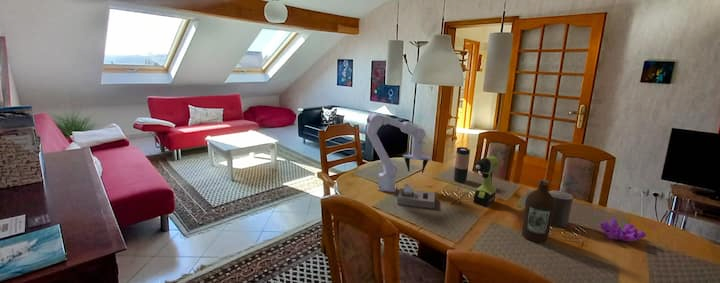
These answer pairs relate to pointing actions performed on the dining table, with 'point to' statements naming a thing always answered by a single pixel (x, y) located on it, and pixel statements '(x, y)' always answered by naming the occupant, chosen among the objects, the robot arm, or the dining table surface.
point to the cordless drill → (486, 181)
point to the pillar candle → (561, 208)
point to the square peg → (408, 190)
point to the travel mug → (461, 164)
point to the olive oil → (538, 214)
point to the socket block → (417, 198)
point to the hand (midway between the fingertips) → (415, 171)
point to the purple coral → (621, 231)
